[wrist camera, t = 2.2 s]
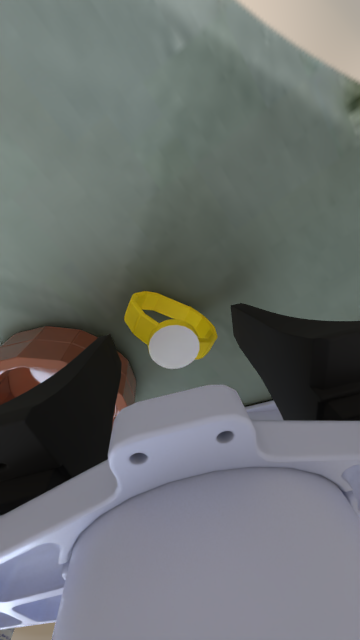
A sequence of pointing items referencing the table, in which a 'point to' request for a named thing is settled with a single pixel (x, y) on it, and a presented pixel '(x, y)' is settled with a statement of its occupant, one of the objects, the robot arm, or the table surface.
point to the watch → (170, 329)
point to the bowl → (51, 362)
